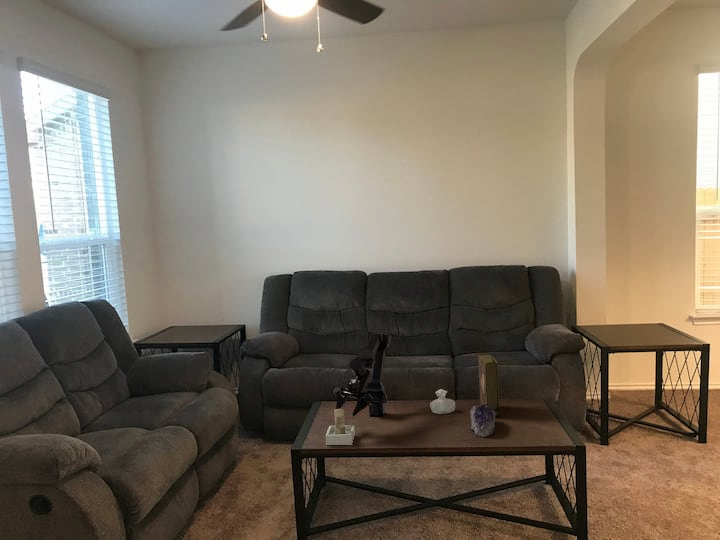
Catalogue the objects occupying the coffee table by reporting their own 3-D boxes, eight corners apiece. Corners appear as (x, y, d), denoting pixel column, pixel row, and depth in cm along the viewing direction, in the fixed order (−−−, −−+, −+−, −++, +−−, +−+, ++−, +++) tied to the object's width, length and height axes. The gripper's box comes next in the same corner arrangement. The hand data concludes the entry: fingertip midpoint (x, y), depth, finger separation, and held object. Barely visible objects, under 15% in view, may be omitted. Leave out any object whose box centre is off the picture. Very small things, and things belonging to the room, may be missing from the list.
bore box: (354, 435, 228) (354, 425, 227) (352, 445, 217) (351, 435, 217) (330, 436, 229) (329, 425, 228) (326, 446, 218) (325, 435, 218)
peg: (347, 439, 224) (345, 408, 223) (343, 443, 220) (341, 412, 219) (338, 438, 226) (336, 408, 224) (334, 442, 222) (332, 411, 221)
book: (479, 405, 256) (477, 354, 254) (491, 405, 256) (489, 353, 254) (487, 418, 240) (485, 363, 238) (499, 417, 239) (497, 362, 238)
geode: (500, 438, 216) (496, 415, 216) (471, 441, 219) (467, 418, 218) (497, 418, 236) (493, 397, 235) (471, 421, 239) (467, 400, 238)
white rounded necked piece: (455, 415, 251) (450, 392, 258) (458, 409, 245) (453, 386, 251) (430, 417, 250) (426, 394, 257) (432, 412, 244) (428, 388, 250)
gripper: (334, 368, 233) (318, 400, 226) (367, 374, 221) (351, 408, 214) (347, 381, 240) (332, 413, 233) (380, 387, 228) (365, 421, 221)
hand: (344, 413), depth 225 cm, fingers open, 9 cm apart
